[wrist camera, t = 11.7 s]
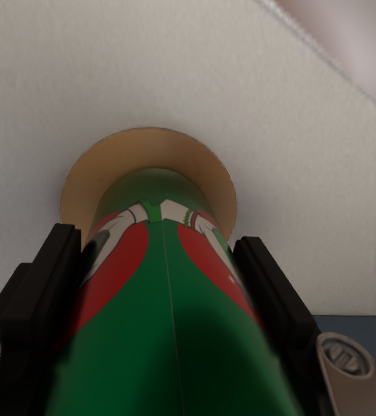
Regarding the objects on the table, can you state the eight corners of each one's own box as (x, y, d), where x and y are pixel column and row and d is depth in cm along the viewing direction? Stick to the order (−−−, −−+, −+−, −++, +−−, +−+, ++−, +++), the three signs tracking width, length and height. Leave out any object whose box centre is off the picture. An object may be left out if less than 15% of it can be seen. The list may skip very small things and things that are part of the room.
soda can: (100, 264, 14) (-41, 886, 3) (93, 162, 12) (-347, 967, 1) (203, 261, 15) (355, 763, 4) (214, 165, 13) (583, 686, 2)
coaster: (63, 279, 15) (62, 284, 14) (59, 114, 11) (56, 115, 11) (217, 284, 16) (218, 288, 16) (252, 139, 13) (254, 141, 13)
